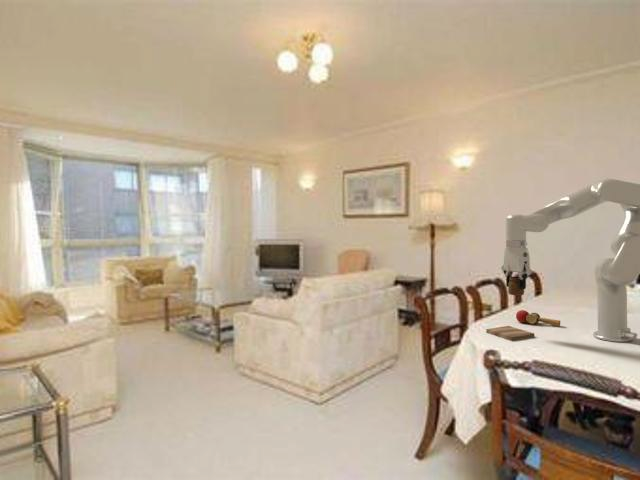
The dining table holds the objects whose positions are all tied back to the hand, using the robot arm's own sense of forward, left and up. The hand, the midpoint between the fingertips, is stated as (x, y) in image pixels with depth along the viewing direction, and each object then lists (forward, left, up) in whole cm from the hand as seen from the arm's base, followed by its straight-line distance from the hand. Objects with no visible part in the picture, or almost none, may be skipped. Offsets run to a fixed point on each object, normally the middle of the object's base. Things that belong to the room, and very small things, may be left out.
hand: (515, 287), depth 168 cm
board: (+2, +2, -20) cm, 20 cm away
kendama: (+10, -22, -21) cm, 31 cm away
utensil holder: (0, 0, -3) cm, 3 cm away
